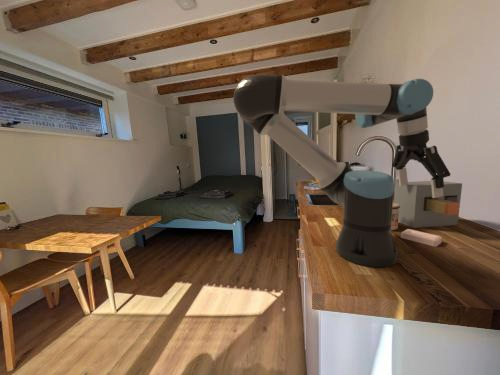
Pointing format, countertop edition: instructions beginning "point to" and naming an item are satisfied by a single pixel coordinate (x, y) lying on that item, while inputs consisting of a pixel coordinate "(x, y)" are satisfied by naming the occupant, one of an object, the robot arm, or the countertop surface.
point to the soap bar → (421, 237)
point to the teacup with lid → (395, 216)
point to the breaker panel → (413, 204)
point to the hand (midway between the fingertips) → (419, 191)
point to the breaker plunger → (441, 206)
